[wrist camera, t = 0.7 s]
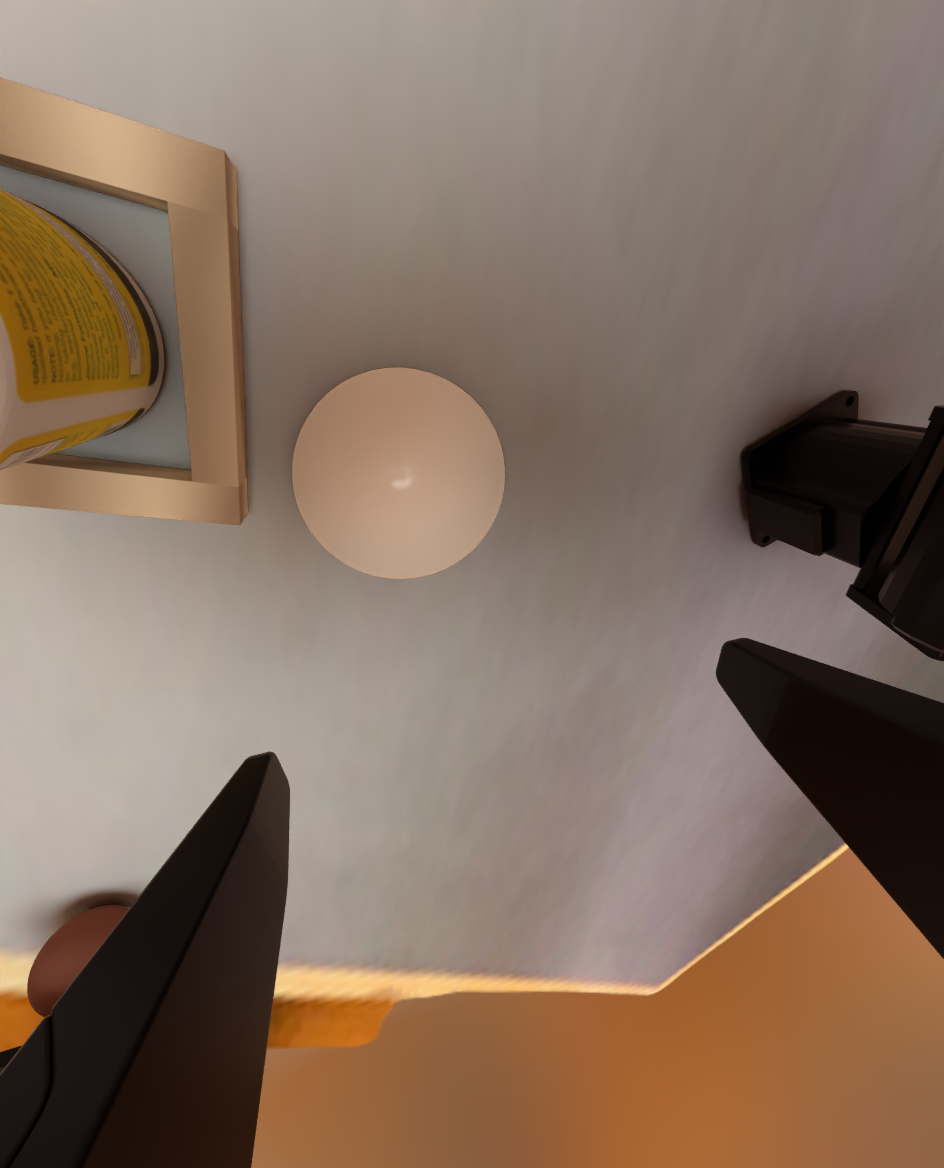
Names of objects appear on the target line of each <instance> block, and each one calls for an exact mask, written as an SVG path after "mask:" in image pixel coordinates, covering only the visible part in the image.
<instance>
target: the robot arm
mask: <svg viewBox="0 0 944 1168" xmlns="http://www.w3.org/2000/svg"><path fill="white" fill-rule="evenodd" d="M928 420H930V424H929V426H928V428H923V427H915V426H907V425H899V424H892V423H884V422H876V421H868V420H860V419H858V393H857V392H856V391H850V390H845V391H842V392H840V393H839V394H837V395H835V396H834V397H832V398H830V399H829V400H827V401H825V402H824V403H822V404H820V405H819V406H817V407H815V408H814V409H812V410H810V411H809V412H807V413H805V414H804V415H802V416H800V417H799V418H797V419H795V420H794V421H792V422H790V423H789V424H787V425H785V426H784V427H782V428H780V429H778V430H777V431H775V432H773V433H772V434H770V435H768V436H767V437H765V438H763V439H762V440H760V441H758V442H757V443H755V444H753V445H752V446H750V447H749V448H747V449H746V450H745V452H744V454H743V456H742V463H743V471H744V478H745V485H746V493H747V500H748V507H749V515H750V522H751V530H752V537H753V542H754V544H756V545H758V546H760V547H765V546H768V545H769V544H771V543H773V542H774V541H776V540H780V541H782V542H785V543H787V544H789V545H792V546H794V547H796V548H799V549H801V550H803V551H806V552H808V553H810V554H813V555H816V556H821V555H823V554H824V553H825V554H827V555H830V556H832V557H835V558H837V559H839V560H842V561H844V562H847V563H849V564H851V565H854V566H856V567H859V568H861V569H860V571H859V573H858V575H857V577H856V579H855V581H854V583H853V584H851V585H850V586H849V588H848V591H847V593H846V596H847V597H849V598H850V599H851V600H853V601H854V602H855V603H857V604H858V605H859V606H861V607H862V608H863V609H864V610H866V611H867V612H868V613H870V614H871V615H872V616H874V617H875V618H877V619H878V620H879V621H881V622H882V623H883V624H885V625H886V626H887V627H889V628H890V629H891V630H893V631H894V632H895V633H897V634H898V635H899V636H901V637H902V638H903V639H905V640H906V641H907V642H909V643H910V644H911V645H913V646H914V647H916V648H917V649H918V650H920V651H921V652H922V653H924V654H925V655H927V656H928V657H930V658H932V659H936V660H939V661H944V405H942V406H934V409H933V411H932V413H931V415H930V417H929V419H928ZM753 455H754V457H753ZM752 457H753V458H752ZM716 677H717V680H718V682H719V684H720V685H721V687H722V688H723V689H724V691H725V692H726V694H727V695H728V697H729V698H730V699H731V701H732V702H733V704H734V705H735V707H736V708H737V709H738V711H739V712H740V714H741V715H742V716H743V718H744V719H745V721H746V722H747V724H748V725H749V726H750V728H751V729H752V731H753V732H754V733H755V735H756V736H757V738H758V739H759V740H760V742H761V743H762V744H763V746H764V747H765V748H766V749H767V751H768V752H769V753H770V754H771V756H772V757H773V758H774V759H775V760H776V762H777V763H778V764H779V765H780V766H781V767H782V769H783V770H784V771H785V772H786V773H787V775H788V776H789V777H790V778H791V779H792V780H793V782H794V783H795V784H796V785H797V786H798V788H799V789H800V790H801V791H802V792H803V793H804V795H805V796H806V797H807V798H808V799H809V801H810V802H811V803H812V804H813V805H814V806H815V808H816V809H817V810H818V811H819V812H820V814H821V815H822V816H823V817H824V818H825V819H826V821H827V822H828V823H829V824H830V825H831V827H832V828H833V829H834V830H835V831H836V832H837V834H838V835H839V836H840V837H841V838H842V840H843V841H844V842H845V843H846V844H847V845H848V847H849V848H850V849H851V850H852V851H853V853H854V854H855V855H856V856H857V857H858V858H859V860H860V861H861V862H862V863H863V864H864V866H865V867H866V868H867V869H868V870H869V871H870V873H871V874H872V875H873V876H874V877H875V878H876V880H877V881H878V882H879V883H880V884H881V885H882V887H883V888H884V889H885V890H886V891H887V893H888V894H889V895H890V896H891V897H892V899H893V900H894V901H895V902H896V903H897V905H898V906H899V907H900V908H901V909H902V910H903V912H904V913H905V914H906V915H907V916H908V918H909V919H910V920H911V921H912V922H913V923H914V925H915V926H916V927H917V928H918V929H919V930H920V932H921V933H922V934H923V935H924V936H925V938H926V939H927V940H928V941H929V942H930V943H931V945H932V946H933V947H934V948H935V949H936V951H937V952H938V953H939V954H940V955H941V956H942V958H943V959H944V703H941V702H938V701H935V700H932V699H929V698H926V697H923V696H920V695H917V694H914V693H911V692H908V691H905V690H902V689H899V688H896V687H893V686H890V685H887V684H884V683H881V682H878V681H875V680H872V679H869V678H866V677H863V676H860V675H857V674H854V673H851V672H848V671H845V670H842V669H839V668H836V667H833V666H830V665H827V664H824V663H820V662H817V661H814V660H811V659H808V658H805V657H802V656H799V655H796V654H793V653H790V652H787V651H784V650H781V649H778V648H775V647H772V646H769V645H766V644H763V643H760V642H757V641H754V640H751V639H748V638H739V639H735V640H730V641H727V642H725V643H724V644H723V646H722V649H721V653H720V657H719V661H718V665H717V668H716ZM289 817H290V787H289V783H288V780H287V777H286V775H285V773H284V771H283V769H282V767H281V764H280V762H279V760H278V758H277V756H276V755H275V753H273V752H266V753H262V754H258V755H253V756H250V757H248V758H247V759H246V760H245V761H244V762H243V763H242V765H241V766H240V767H239V769H238V770H237V771H236V772H235V774H234V775H233V776H232V777H231V779H230V780H229V781H228V783H227V784H226V785H225V786H224V788H223V789H222V790H221V792H220V793H219V794H218V795H217V797H216V798H215V799H214V801H213V802H212V803H211V804H210V806H209V807H208V808H207V810H206V811H205V812H204V813H203V815H202V816H201V817H200V819H199V820H198V821H197V822H196V824H195V825H194V826H193V828H192V829H191V830H190V831H189V833H188V834H187V835H186V837H185V838H184V839H183V840H182V842H181V843H180V844H179V846H178V847H177V848H176V849H175V851H174V852H173V853H172V855H171V856H170V857H169V858H168V860H167V861H166V862H165V864H164V865H163V866H162V867H161V869H160V870H159V871H158V873H157V874H156V875H155V876H154V878H153V879H152V880H151V881H150V883H149V884H148V885H147V887H146V888H145V889H144V890H143V892H142V893H141V894H140V896H139V897H138V898H137V899H136V901H135V902H134V903H133V905H132V906H131V907H130V908H129V910H128V911H127V912H126V914H125V915H124V916H123V917H122V919H121V920H120V921H119V923H118V924H117V925H116V926H115V928H114V929H113V930H112V932H111V933H110V934H109V935H108V937H107V938H106V939H105V941H104V942H103V943H102V944H101V946H100V947H99V948H98V950H97V951H96V952H95V953H94V955H93V956H92V957H91V959H90V960H89V961H88V962H87V964H86V965H85V966H84V968H83V969H82V970H81V971H80V973H79V974H78V975H77V977H76V978H75V979H74V980H73V982H72V983H71V984H70V986H69V987H68V988H67V989H66V991H65V992H64V993H63V994H62V996H61V997H60V998H59V1000H58V1001H57V1002H56V1003H55V1005H54V1006H53V1008H52V1010H51V1015H48V1016H46V1017H45V1018H44V1019H43V1020H42V1021H41V1022H40V1024H39V1025H38V1026H37V1028H36V1029H35V1030H34V1031H33V1033H32V1034H31V1035H30V1036H29V1038H28V1039H27V1040H26V1042H25V1043H24V1044H23V1045H22V1047H21V1048H20V1049H19V1051H18V1052H17V1053H16V1054H15V1056H14V1057H13V1058H12V1060H11V1061H10V1062H9V1063H8V1065H7V1066H6V1067H5V1068H4V1070H3V1071H2V1072H1V1073H0V1168H251V1164H252V1157H253V1149H254V1141H255V1134H256V1126H257V1118H258V1111H259V1103H260V1095H261V1088H262V1087H261V1086H262V1080H263V1073H264V1065H265V1057H266V1050H267V1042H268V1034H269V1027H270V1019H271V1011H272V1004H273V996H274V989H275V981H276V973H277V966H278V958H279V950H280V943H281V935H282V927H283V920H284V912H285V905H286V896H287V886H288V860H289Z"/></svg>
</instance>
